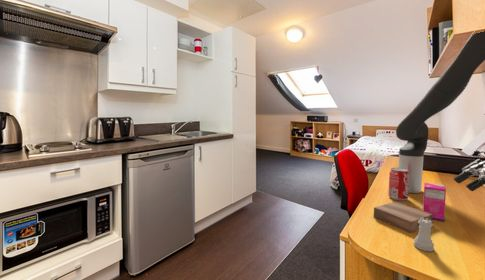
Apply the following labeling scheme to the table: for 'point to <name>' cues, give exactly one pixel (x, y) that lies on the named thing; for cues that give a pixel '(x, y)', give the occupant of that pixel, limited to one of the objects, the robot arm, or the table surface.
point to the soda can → (399, 184)
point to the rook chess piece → (424, 236)
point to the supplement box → (434, 200)
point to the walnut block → (401, 216)
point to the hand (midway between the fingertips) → (461, 184)
